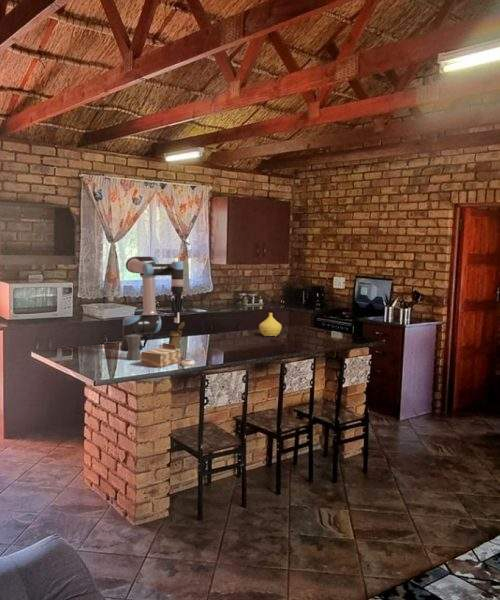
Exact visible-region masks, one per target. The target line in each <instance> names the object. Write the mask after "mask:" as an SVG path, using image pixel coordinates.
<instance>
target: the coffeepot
mask: <svg viewBox="0 0 500 600" xmlns="http://www.w3.org/2000/svg"><path fill="white" fill-rule="evenodd" d="M124 338H125V339H126V341H127V343H128V346H129V349H128V351H127V353H126V360H127V361H132V360H134V361H141V350H140V349H139V346H140V341H141V340H142V339H144V342H143V343H142V346H141V347H142V348H144V349H145V348H146V346H147V345H146V344H147V342H148V339H149V338H148V336H147V335H146V334H140V335H137V334H135V331H133V334H131V335H126V336H124ZM141 342H142V341H141Z"/></svg>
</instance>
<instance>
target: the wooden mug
mask: <svg viewBox="0 0 500 600" xmlns="http://www.w3.org/2000/svg"><path fill="white" fill-rule="evenodd" d="M178 324H179V325H178V327H177V330H176V331H175V330H172V331H170V332H169V335H168V337H169V339H168V344H175V345H176V349H180V348H181V343H180V340H181V338H182V334H183V333H182V330H183V329H184V328H185V326H186V323H185V321H182V322H179V323H178Z"/></svg>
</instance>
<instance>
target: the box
mask: <svg viewBox="0 0 500 600" xmlns="http://www.w3.org/2000/svg"><path fill="white" fill-rule="evenodd" d="M140 355H141V359H140V366H142V365H146V366H145V367H150V366H153V367H152V368H157V367H160V368H159V369H163V368H166V367H169V365H170V366H172V365H175V364H179V363H181V350H180V351H177V352H173V353H169V354H166V355H162V356H161V354H155V353H147V352H144V351H141V353H140ZM165 366H166V367H165ZM162 367H163V368H162Z"/></svg>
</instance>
